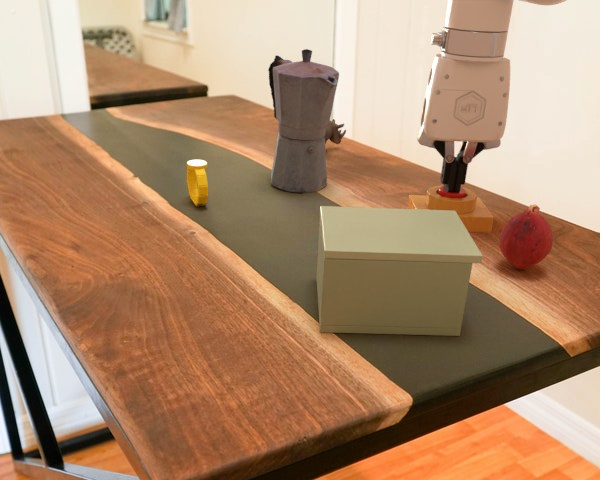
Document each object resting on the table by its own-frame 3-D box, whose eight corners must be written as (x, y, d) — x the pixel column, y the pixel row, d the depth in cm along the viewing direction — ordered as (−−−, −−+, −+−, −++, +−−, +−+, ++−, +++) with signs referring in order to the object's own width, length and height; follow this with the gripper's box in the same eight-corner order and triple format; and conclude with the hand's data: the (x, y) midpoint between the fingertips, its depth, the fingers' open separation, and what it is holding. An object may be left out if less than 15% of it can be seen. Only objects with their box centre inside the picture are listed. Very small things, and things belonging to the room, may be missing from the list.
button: (460, 197, 91) (462, 185, 90) (466, 206, 88) (468, 194, 87) (435, 196, 91) (436, 184, 90) (440, 206, 88) (441, 193, 87)
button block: (476, 211, 95) (481, 184, 93) (491, 232, 88) (496, 204, 86) (407, 209, 94) (410, 182, 92) (416, 230, 87) (420, 202, 85)
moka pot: (307, 203, 95) (313, 57, 85) (241, 176, 105) (240, 43, 95) (352, 190, 101) (363, 52, 91) (286, 166, 111) (289, 39, 101)
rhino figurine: (353, 149, 121) (355, 116, 118) (295, 161, 113) (296, 126, 110) (338, 144, 124) (340, 112, 121) (280, 155, 116) (281, 121, 113)
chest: (437, 282, 74) (446, 217, 70) (460, 336, 64) (472, 263, 60) (316, 278, 74) (319, 213, 70) (319, 332, 63) (324, 259, 60)
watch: (182, 197, 95) (180, 156, 93) (201, 195, 96) (199, 155, 94) (194, 211, 91) (192, 169, 88) (213, 208, 92) (212, 167, 89)
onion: (534, 285, 74) (550, 218, 70) (486, 270, 77) (498, 205, 73) (551, 268, 78) (567, 204, 74) (505, 255, 81) (518, 193, 77)
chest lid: (454, 217, 70) (455, 210, 70) (481, 263, 60) (483, 255, 60) (319, 212, 70) (320, 205, 69) (324, 258, 60) (324, 250, 59)
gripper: (417, 46, 77) (400, 196, 85) (544, 51, 77) (514, 200, 86) (407, 38, 83) (392, 178, 92) (524, 43, 84) (498, 182, 92)
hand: (451, 188), depth 89 cm, fingers closed
